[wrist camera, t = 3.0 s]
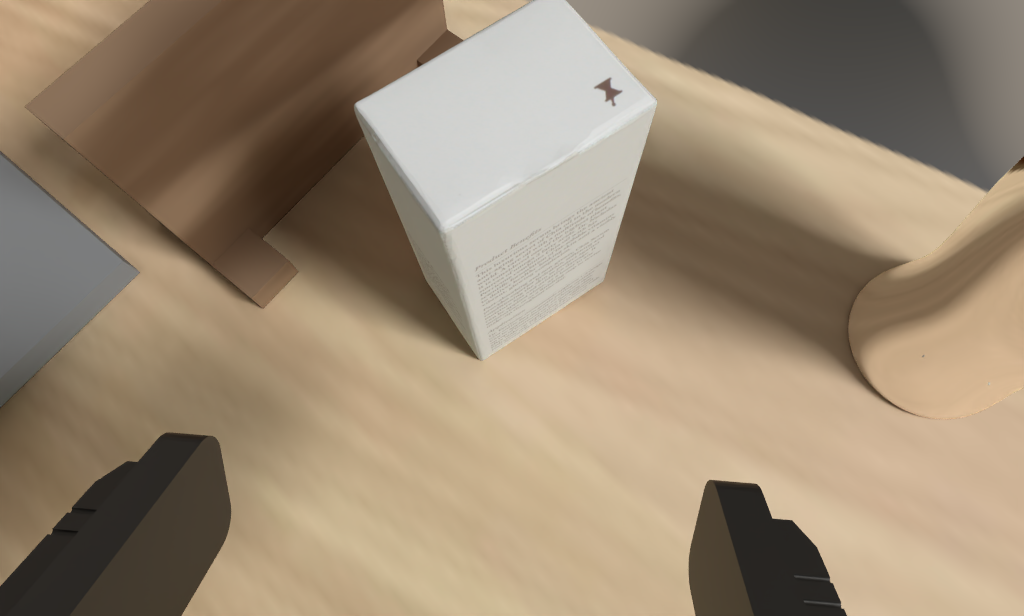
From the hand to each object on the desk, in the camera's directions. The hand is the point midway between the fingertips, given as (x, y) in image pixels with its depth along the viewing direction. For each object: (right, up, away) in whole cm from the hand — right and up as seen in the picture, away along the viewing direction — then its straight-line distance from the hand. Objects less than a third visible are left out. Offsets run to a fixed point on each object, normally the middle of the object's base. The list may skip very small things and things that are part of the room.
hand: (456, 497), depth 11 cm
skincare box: (+1, +4, +16) cm, 16 cm away
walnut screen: (-7, +10, +18) cm, 21 cm away
